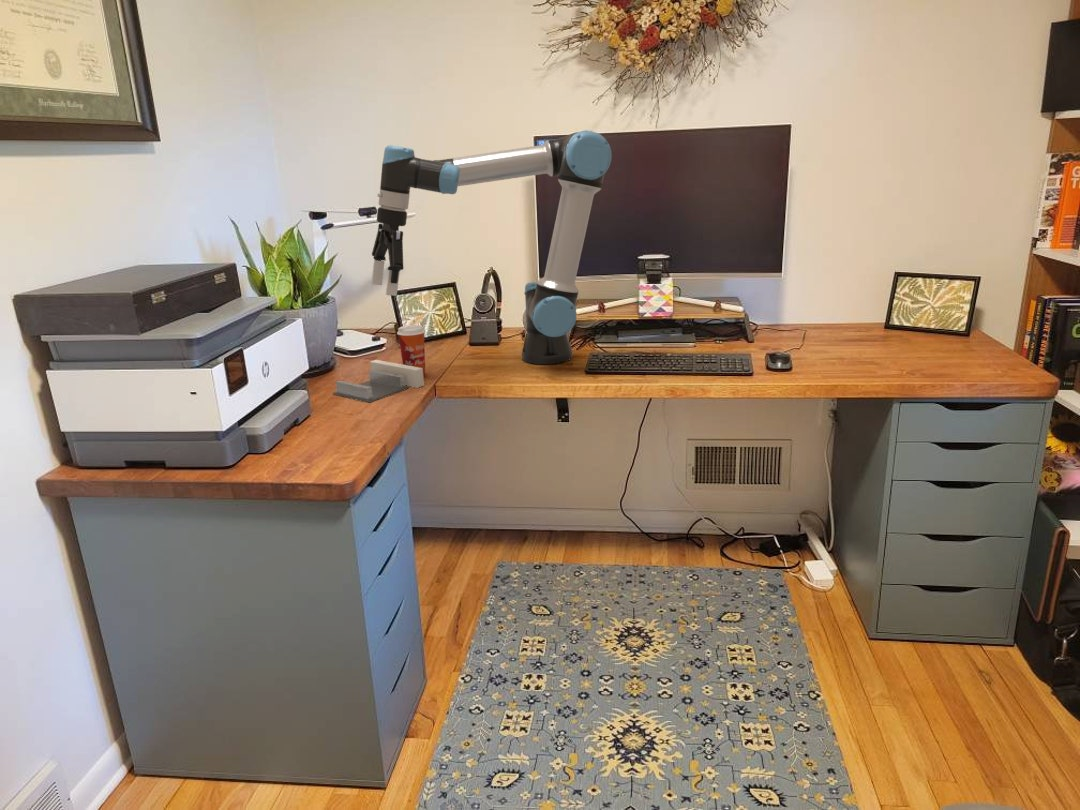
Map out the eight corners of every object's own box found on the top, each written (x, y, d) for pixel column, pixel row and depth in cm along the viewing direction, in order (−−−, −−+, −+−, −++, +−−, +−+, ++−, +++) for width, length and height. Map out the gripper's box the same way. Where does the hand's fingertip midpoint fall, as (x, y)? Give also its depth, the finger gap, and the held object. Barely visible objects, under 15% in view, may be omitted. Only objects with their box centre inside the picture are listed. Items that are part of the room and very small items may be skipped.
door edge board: (424, 385, 208) (422, 368, 206) (417, 388, 206) (416, 370, 204) (378, 376, 218) (376, 359, 216) (371, 378, 216) (369, 361, 214)
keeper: (409, 388, 206) (407, 375, 205) (369, 402, 195) (368, 389, 194) (373, 381, 214) (371, 368, 213) (333, 394, 203) (331, 381, 202)
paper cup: (409, 381, 212) (404, 332, 208) (396, 375, 218) (391, 327, 214) (434, 376, 216) (430, 327, 212) (421, 370, 222) (417, 323, 218)
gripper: (365, 201, 207) (357, 279, 213) (393, 212, 186) (383, 298, 192) (392, 204, 210) (384, 281, 217) (422, 216, 190) (412, 301, 196)
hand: (383, 289), depth 204 cm, fingers open, 13 cm apart
